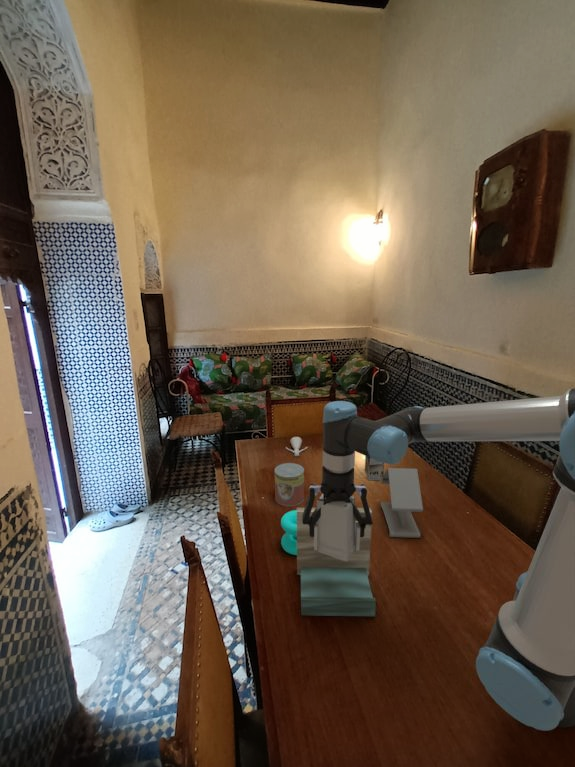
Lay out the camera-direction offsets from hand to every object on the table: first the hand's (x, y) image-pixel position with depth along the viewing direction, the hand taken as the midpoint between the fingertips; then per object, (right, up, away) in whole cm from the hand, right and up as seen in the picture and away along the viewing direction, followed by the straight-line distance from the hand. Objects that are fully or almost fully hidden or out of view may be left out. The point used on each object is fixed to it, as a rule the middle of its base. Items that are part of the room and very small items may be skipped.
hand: (336, 546), depth 90 cm
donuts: (-9, -10, +22) cm, 26 cm away
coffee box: (+25, +1, +64) cm, 69 cm away
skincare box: (0, -1, 0) cm, 1 cm away
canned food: (-11, -3, +48) cm, 49 cm away
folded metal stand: (+26, -7, +33) cm, 43 cm away
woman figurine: (-8, +7, +91) cm, 92 cm away
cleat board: (0, -14, +4) cm, 14 cm away
